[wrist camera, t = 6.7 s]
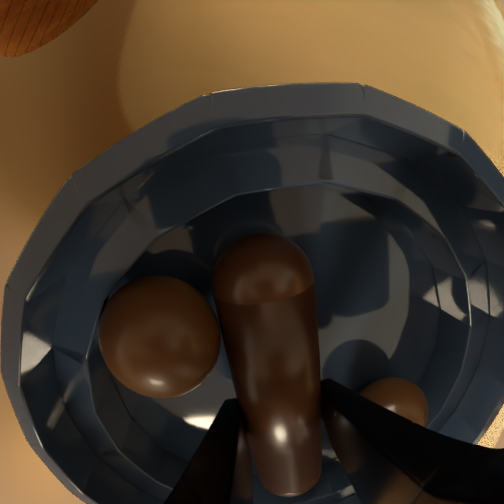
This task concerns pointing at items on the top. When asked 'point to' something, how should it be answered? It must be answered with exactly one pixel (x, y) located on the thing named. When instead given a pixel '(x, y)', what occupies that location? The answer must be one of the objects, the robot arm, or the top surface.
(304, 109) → the bowl
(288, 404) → the stick
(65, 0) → the disposable coffee cup
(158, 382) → the glossy brown ball
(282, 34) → the top surface
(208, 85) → the top surface
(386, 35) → the top surface
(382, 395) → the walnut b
